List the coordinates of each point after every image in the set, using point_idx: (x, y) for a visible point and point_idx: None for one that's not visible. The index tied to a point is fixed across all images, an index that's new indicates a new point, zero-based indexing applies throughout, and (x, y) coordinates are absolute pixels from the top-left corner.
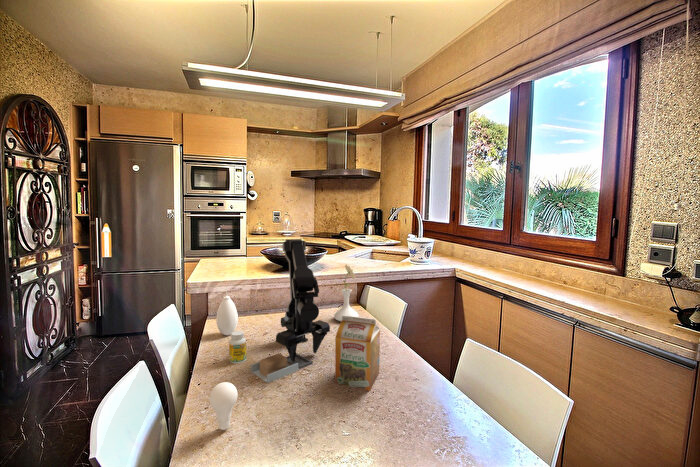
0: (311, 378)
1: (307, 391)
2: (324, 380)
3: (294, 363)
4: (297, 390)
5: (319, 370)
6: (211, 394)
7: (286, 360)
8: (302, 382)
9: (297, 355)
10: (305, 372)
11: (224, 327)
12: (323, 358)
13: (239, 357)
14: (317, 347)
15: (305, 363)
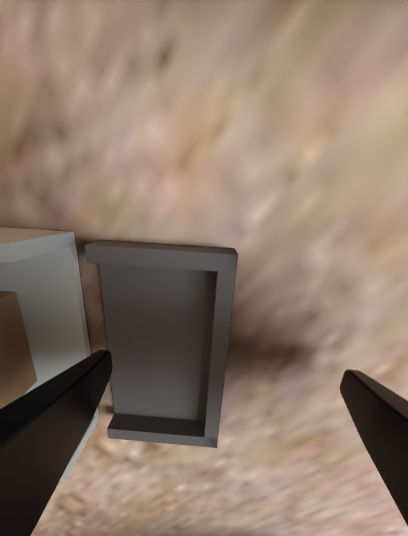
0: (111, 493)
1: (40, 529)
2: (145, 530)
3: (125, 353)
4: None
5: (193, 479)
6: None
7: None
8: (57, 488)
9: (216, 295)
10: (123, 448)
11: None
12: (330, 420)
13: None
14: (387, 482)
15: (161, 434)
